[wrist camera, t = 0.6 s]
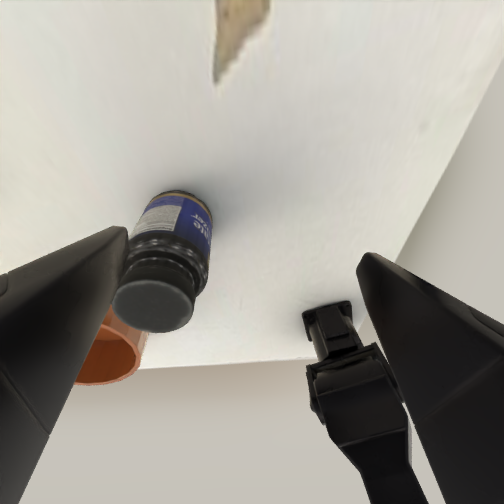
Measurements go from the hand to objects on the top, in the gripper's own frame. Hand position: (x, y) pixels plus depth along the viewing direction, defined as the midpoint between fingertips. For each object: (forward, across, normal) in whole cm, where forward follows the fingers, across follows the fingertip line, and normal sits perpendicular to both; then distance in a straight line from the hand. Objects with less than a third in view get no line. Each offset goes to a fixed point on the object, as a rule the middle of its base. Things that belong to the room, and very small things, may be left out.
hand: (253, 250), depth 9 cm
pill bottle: (+14, +5, +7) cm, 16 cm away
